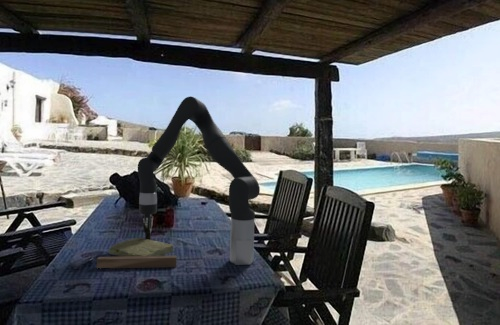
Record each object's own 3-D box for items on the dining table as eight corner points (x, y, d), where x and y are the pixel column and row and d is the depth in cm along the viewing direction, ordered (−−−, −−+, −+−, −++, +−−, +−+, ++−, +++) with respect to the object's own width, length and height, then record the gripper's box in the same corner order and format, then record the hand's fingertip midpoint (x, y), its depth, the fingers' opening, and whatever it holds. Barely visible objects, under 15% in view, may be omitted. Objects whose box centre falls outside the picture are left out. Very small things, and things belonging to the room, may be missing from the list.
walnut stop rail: (176, 266, 138) (176, 257, 138) (97, 268, 134) (96, 259, 134) (176, 264, 141) (176, 255, 140) (98, 266, 136) (98, 257, 136)
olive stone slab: (138, 243, 166) (138, 235, 166) (174, 251, 157) (174, 243, 157) (104, 255, 150) (104, 246, 149) (143, 264, 141) (143, 255, 140)
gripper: (155, 205, 158) (155, 245, 160) (158, 199, 171) (158, 236, 173) (137, 205, 157) (137, 245, 159) (141, 199, 170) (141, 236, 172)
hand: (148, 240), depth 166 cm, fingers closed
